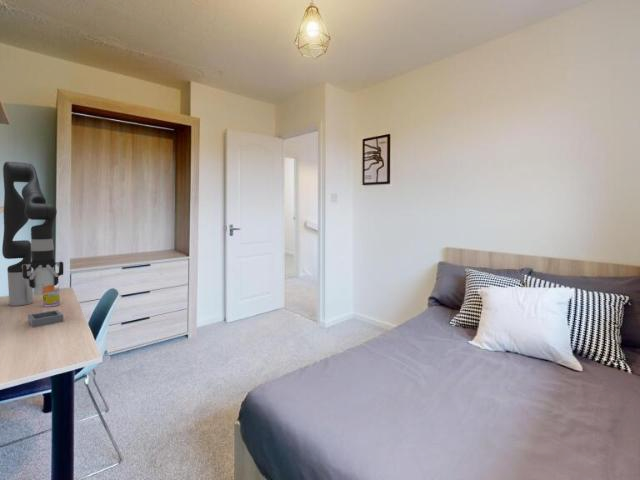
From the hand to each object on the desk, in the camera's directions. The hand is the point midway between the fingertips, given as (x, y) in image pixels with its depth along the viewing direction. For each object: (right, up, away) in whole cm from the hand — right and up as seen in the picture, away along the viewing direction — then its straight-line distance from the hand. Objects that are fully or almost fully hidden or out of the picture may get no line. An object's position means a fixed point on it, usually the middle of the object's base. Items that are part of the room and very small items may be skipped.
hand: (44, 286), depth 142 cm
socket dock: (0, -16, +1) cm, 16 cm away
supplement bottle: (-18, -14, +25) cm, 34 cm away
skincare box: (0, -4, 0) cm, 4 cm away
